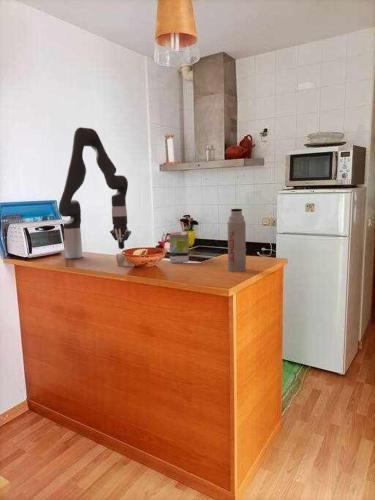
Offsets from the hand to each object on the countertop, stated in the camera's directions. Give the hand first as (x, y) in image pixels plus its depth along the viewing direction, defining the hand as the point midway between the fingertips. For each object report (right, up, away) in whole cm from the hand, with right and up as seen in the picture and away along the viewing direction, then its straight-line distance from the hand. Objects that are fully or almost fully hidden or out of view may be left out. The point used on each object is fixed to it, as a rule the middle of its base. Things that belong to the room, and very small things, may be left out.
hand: (121, 248), depth 192 cm
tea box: (+30, -6, +7) cm, 32 cm away
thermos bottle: (+57, -10, -21) cm, 62 cm away
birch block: (-1, -5, +1) cm, 5 cm away
